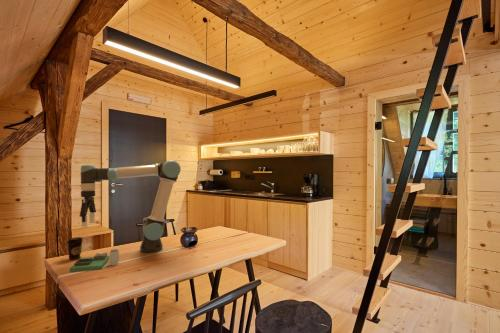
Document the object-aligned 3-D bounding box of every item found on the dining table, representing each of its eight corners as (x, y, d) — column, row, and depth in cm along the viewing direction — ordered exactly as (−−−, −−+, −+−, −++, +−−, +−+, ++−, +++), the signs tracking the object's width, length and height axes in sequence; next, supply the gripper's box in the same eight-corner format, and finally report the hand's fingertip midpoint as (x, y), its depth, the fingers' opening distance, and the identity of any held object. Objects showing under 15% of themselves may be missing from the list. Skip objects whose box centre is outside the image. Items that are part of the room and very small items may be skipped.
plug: (119, 262, 163) (119, 249, 163) (117, 264, 159) (117, 250, 159) (111, 263, 161) (111, 249, 162) (109, 265, 158) (109, 251, 158)
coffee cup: (86, 257, 172) (86, 237, 172) (74, 261, 164) (74, 240, 164) (75, 256, 175) (75, 236, 175) (63, 260, 167) (63, 239, 167)
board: (109, 259, 169) (109, 251, 169) (101, 269, 152) (101, 260, 152) (80, 261, 165) (80, 253, 165) (69, 271, 148) (69, 262, 148)
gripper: (88, 189, 174) (88, 221, 174) (73, 192, 150) (73, 229, 150) (100, 188, 176) (101, 220, 176) (87, 191, 152) (88, 229, 152)
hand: (88, 225), depth 163 cm, fingers open, 13 cm apart
